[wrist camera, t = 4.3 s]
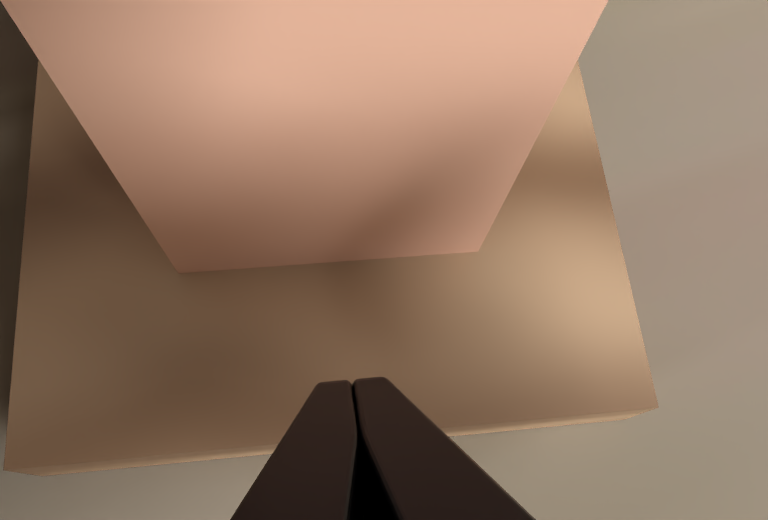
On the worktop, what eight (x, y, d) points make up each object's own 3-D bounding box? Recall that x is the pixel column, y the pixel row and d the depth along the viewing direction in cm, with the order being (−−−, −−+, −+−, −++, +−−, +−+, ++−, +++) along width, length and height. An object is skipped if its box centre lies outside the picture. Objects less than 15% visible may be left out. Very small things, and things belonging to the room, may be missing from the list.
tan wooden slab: (624, 419, 17) (658, 407, 16) (42, 475, 16) (3, 470, 14) (539, 26, 21) (558, -22, 20) (70, 46, 20) (43, -2, 18)
